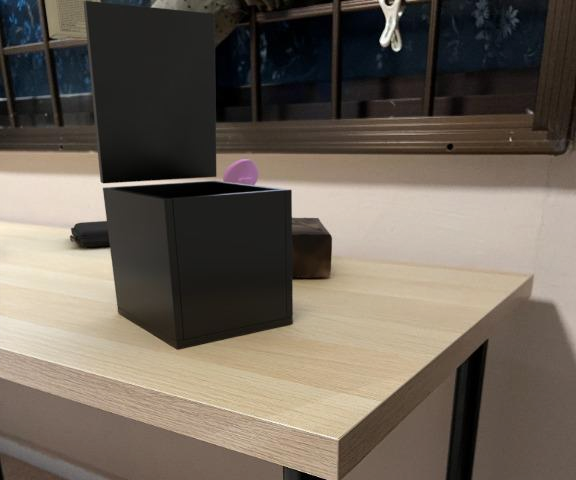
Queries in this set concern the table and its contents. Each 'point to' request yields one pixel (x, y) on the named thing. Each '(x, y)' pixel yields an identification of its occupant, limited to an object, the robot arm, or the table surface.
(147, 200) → the trash can
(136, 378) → the table surface
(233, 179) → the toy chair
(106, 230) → the carrying case
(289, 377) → the table surface
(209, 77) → the black lid
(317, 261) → the dark brown block
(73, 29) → the cosmetic box
